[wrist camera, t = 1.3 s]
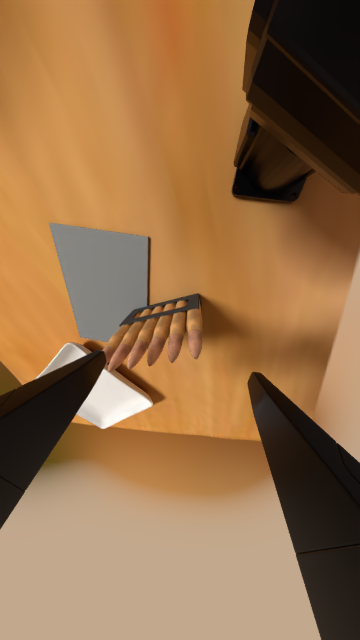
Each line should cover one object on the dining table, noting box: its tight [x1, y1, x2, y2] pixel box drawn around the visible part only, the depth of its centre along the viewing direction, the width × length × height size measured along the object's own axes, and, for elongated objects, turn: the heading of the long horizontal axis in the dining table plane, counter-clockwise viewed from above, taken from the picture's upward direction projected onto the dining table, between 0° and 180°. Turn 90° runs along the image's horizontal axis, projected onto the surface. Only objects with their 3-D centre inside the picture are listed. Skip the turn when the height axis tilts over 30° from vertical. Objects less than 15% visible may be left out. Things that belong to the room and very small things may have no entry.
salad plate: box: [36, 342, 153, 429], centre depth 31 cm, size 21×21×3 cm
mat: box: [49, 223, 149, 342], centre depth 21 cm, size 13×18×1 cm
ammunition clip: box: [102, 294, 203, 372], centre depth 15 cm, size 11×2×12 cm, turn 106°
